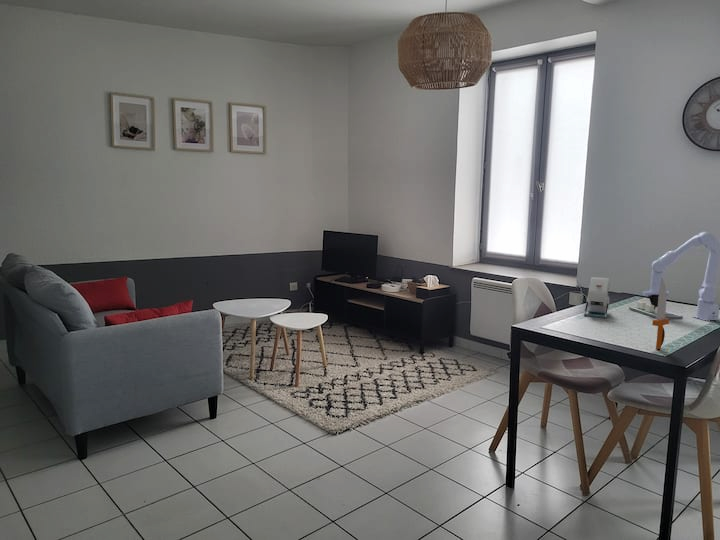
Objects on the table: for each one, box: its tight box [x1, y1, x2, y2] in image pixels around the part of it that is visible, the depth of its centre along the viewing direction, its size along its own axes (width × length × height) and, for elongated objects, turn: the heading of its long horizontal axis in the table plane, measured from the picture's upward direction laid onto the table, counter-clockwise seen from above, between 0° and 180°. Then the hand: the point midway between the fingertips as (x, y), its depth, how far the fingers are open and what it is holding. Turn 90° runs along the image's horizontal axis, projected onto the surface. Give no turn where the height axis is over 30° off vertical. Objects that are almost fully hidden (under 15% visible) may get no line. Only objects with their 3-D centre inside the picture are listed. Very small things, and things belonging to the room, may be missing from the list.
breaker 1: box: [636, 300, 647, 309], centre depth 298 cm, size 4×2×4 cm
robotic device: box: [583, 276, 611, 319], centre depth 288 cm, size 10×21×20 cm
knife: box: [651, 277, 670, 350], centre depth 223 cm, size 8×2×30 cm, turn 126°
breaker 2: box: [645, 303, 654, 312], centre depth 291 cm, size 4×2×4 cm
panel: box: [628, 306, 684, 320], centre depth 292 cm, size 23×14×1 cm, turn 9°
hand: (654, 309), depth 291 cm, fingers closed
